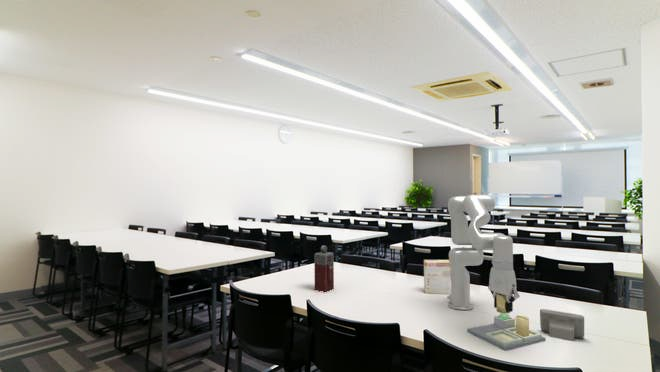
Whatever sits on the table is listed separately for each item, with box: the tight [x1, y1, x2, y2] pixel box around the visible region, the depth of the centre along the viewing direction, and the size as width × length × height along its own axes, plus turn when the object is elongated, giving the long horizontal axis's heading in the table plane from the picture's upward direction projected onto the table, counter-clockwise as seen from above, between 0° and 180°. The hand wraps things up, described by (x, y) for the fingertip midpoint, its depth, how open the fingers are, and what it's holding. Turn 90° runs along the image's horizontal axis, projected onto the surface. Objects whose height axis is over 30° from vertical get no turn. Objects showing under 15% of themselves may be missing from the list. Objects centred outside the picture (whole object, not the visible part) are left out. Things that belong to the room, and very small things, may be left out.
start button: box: [498, 313, 510, 320], centre depth 158 cm, size 4×4×4 cm
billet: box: [495, 293, 511, 314], centre depth 145 cm, size 5×5×7 cm
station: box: [466, 315, 546, 351], centre depth 151 cm, size 20×23×8 cm
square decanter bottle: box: [313, 245, 335, 293], centre depth 221 cm, size 9×11×28 cm
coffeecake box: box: [423, 259, 451, 295], centre depth 215 cm, size 15×7×20 cm, turn 84°
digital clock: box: [539, 308, 585, 342], centre depth 151 cm, size 16×9×11 cm, turn 44°
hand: (503, 309), depth 145 cm, fingers closed on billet, 5 cm apart
